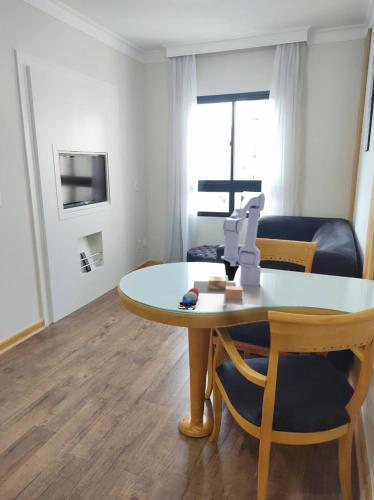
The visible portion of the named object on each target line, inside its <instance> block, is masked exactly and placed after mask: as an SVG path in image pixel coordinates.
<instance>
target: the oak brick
mask: <svg viewBox="0 0 374 500" xmlns="http://www.w3.org/2000/svg"><path fill="white" fill-rule="evenodd" d="M208 282H209V286H208V289H226V282H227V279H226V276H210V275H209V276H208Z"/></svg>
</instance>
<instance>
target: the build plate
mask: <svg viewBox="0 0 374 500" xmlns="http://www.w3.org/2000/svg"><path fill="white" fill-rule="evenodd" d="M208 286H209V280H208V281H207V280H206V281H205V280H202V281H201V280H200V281H199V280H194V281H193V287H192V288H196V289H197V290H198V292H199V294H208V295H210V294H211V295H212V294H213V295H225V292H226V289H208ZM226 286H234V287H237V285H236V282H234V281H226Z"/></svg>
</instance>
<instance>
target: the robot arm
mask: <svg viewBox="0 0 374 500" xmlns="http://www.w3.org/2000/svg"><path fill="white" fill-rule="evenodd" d="M265 202H266V198H265V194H264V192H257V191H256V192H255V191H246V190H245V191H243V192H242V193H241V196H240V205H239V206H238V207H235V208H234V210H233V212H232V213H231V215H230V216H229V217H226V218H225V219H224V220H223V225H222V229H223V235H224V249H223V250H224V252H223V255H221V256H220V259H221V260H222V262H223V264H224V269H225V270H224V271H225V276H227V282H234V281H235V278H236V274H237V272H238V269H239V268H240V275H239V276H240V277H239V279H238V283H239V285H240V286H259V287H260V283H261V266H260V263H261V250H260V249H259V248H258V247H257V246H256V241H257V237H258V236H257V235H258V227H259V219H260V215H261V214H260V213H261V212H262V211H264V208H265ZM247 212H248V218H247V227H246V236H245V242H244V245H243V246H241V247H240V248H239V241H240V240H239V239H240V232H242V227H243V226H244V225H243V222H244V221H245V219H246V217H247ZM236 263H238V264H236Z"/></svg>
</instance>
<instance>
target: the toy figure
mask: <svg viewBox="0 0 374 500" xmlns="http://www.w3.org/2000/svg"><path fill="white" fill-rule="evenodd" d="M199 294H200V293H199V292H198V290H197V289H196V288H193V287H192V288H190V289H188V291H187V292H186V293H184V295H182V301H179V303H178V304H180V305H179V306H180V307H185V308H186V307H187V308H189V306H190V307H191V308H193V307H196V306H197V302H196V300H197V299H198V298H199ZM179 306H178V307H179Z"/></svg>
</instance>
